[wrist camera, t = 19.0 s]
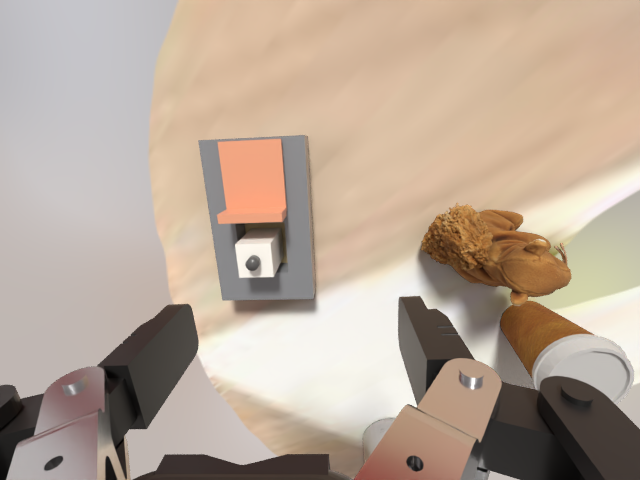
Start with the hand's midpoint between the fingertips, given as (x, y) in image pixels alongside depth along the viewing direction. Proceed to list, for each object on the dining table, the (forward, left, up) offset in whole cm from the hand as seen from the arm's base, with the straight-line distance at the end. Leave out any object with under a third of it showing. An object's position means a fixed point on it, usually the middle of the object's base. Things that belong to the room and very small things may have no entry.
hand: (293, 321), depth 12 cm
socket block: (-2, +8, -30) cm, 31 cm away
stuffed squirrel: (-6, -18, -30) cm, 36 cm away
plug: (-6, +8, -29) cm, 30 cm away
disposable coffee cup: (-18, -27, -30) cm, 44 cm away
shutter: (+3, +8, -25) cm, 27 cm away
